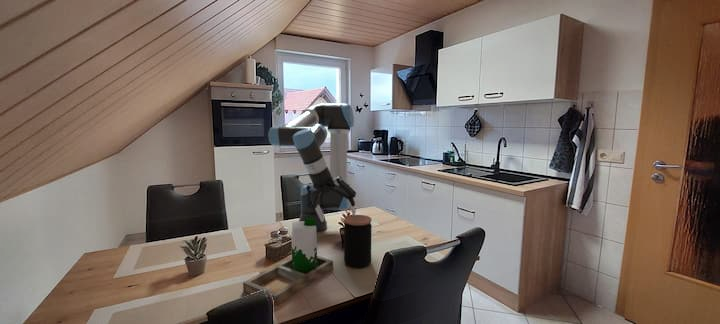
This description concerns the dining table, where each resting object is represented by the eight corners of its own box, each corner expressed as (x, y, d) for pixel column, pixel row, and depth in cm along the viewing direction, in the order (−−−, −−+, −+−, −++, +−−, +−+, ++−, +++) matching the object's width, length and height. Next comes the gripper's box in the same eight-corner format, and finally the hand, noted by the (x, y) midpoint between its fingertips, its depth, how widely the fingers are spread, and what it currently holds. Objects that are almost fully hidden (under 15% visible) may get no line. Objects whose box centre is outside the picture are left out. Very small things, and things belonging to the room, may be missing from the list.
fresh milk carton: (318, 275, 109) (317, 221, 107) (292, 278, 107) (291, 223, 104) (315, 264, 117) (314, 214, 115) (291, 267, 115) (290, 216, 113)
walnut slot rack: (303, 258, 122) (303, 251, 122) (333, 268, 114) (333, 260, 114) (243, 291, 98) (243, 282, 98) (275, 305, 90) (275, 296, 90)
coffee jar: (375, 261, 121) (376, 217, 119) (362, 271, 112) (363, 225, 110) (353, 255, 126) (353, 213, 124) (338, 265, 117) (338, 220, 115)
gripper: (285, 182, 112) (307, 228, 119) (346, 166, 105) (366, 215, 112) (292, 173, 118) (313, 217, 126) (350, 157, 111) (369, 204, 119)
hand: (338, 216), depth 119 cm, fingers open, 13 cm apart
